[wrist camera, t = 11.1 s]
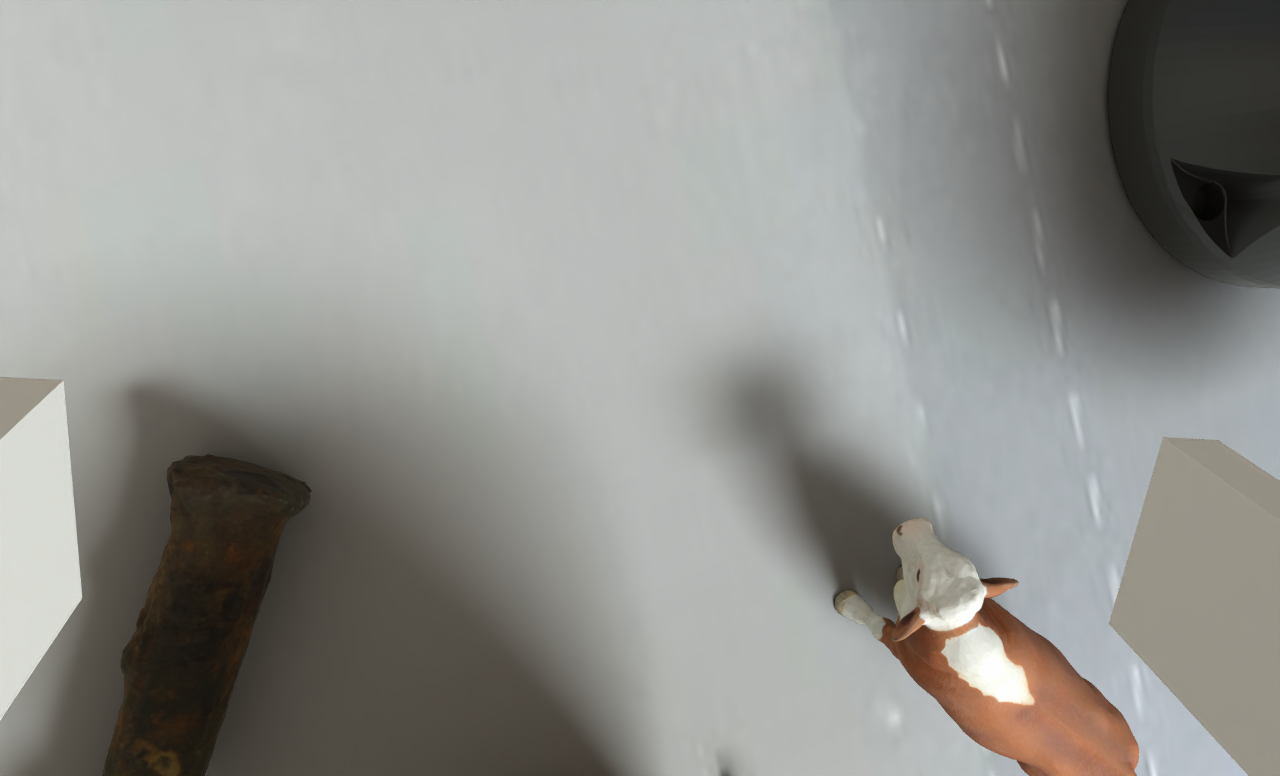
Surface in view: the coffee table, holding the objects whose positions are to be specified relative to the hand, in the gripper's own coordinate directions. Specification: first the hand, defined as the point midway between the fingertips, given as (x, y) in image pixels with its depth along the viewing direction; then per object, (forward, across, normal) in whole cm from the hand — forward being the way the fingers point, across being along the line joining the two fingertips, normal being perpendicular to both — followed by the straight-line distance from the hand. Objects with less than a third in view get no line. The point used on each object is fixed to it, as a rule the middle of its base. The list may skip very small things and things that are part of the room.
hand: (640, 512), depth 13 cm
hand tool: (+19, -11, -18) cm, 28 cm away
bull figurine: (+23, +15, -16) cm, 32 cm away
